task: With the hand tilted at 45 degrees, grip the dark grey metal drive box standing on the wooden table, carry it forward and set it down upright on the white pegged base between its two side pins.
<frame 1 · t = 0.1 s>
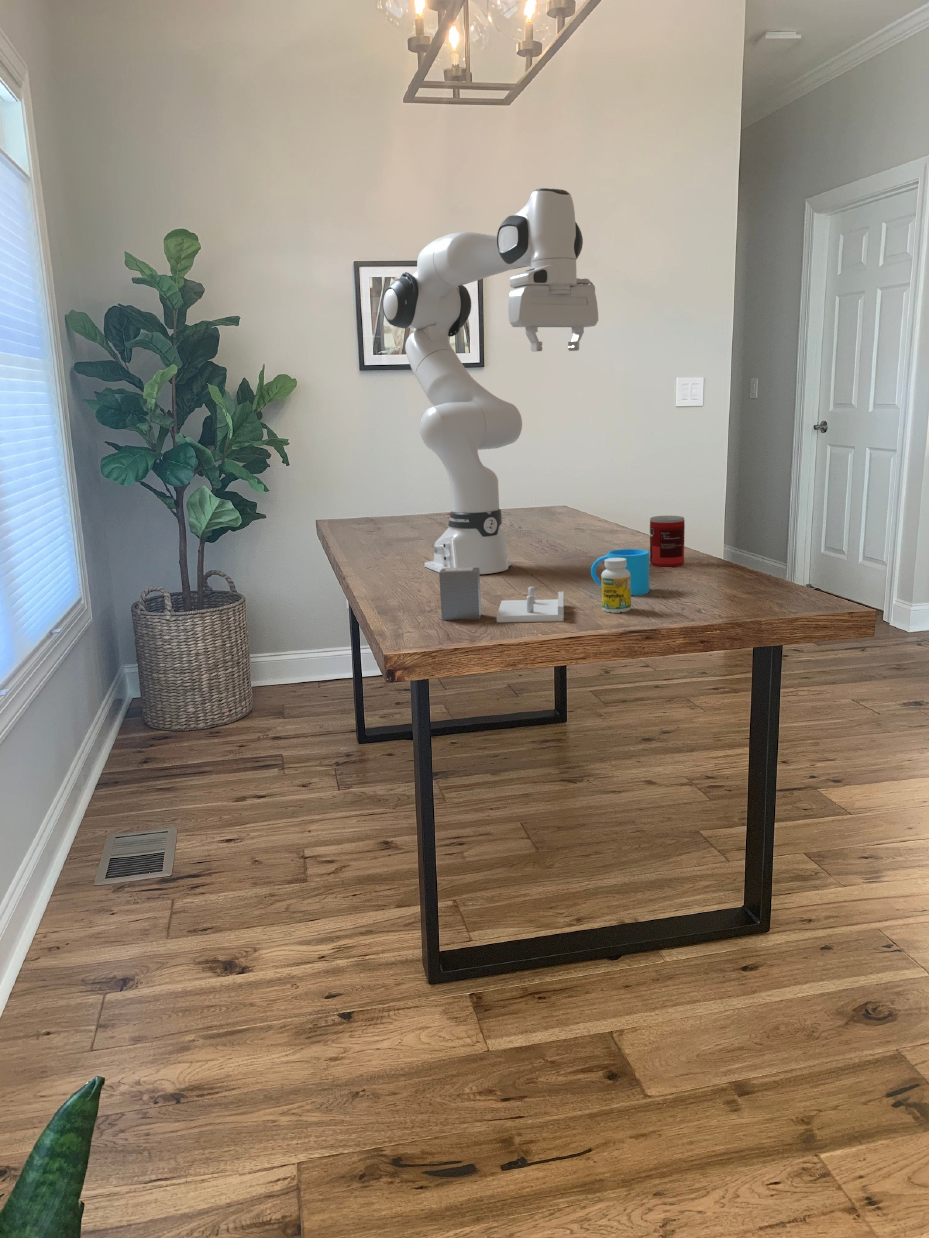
hand: (555, 351, 183), 48 cm above the table, tool pointing down, fingers open, 8 cm apart
canned food: (666, 565, 215), on the table
supplement bottle: (616, 611, 172), on the table
white pegged base: (531, 613, 172), on the table
mug: (619, 592, 188), on the table
drive: (461, 617, 172), on the table
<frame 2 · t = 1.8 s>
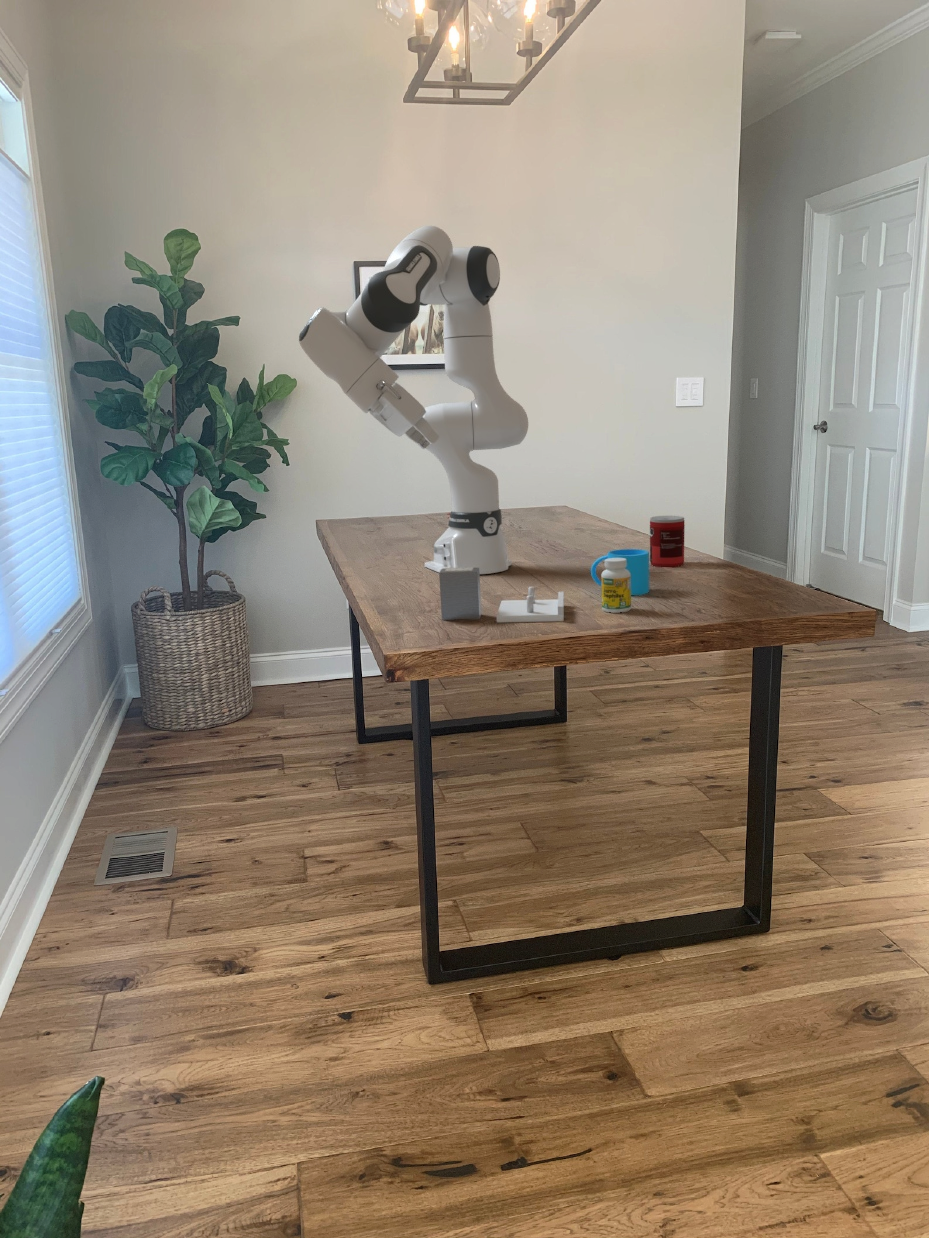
hand: (431, 443, 166), 32 cm above the table, tool tilted 45°, fingers open, 8 cm apart
nothing on the table moved.
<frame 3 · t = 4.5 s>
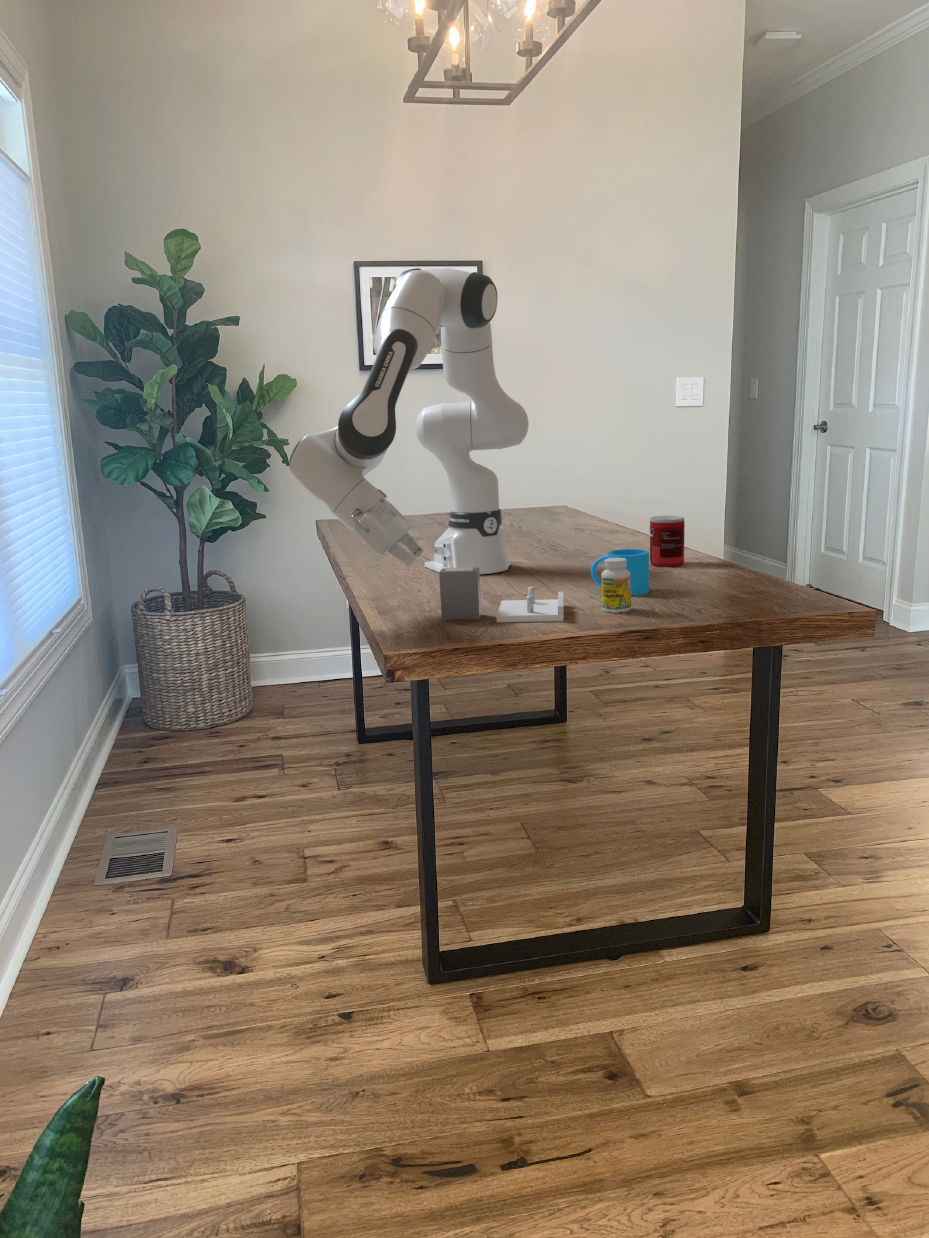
hand: (417, 558, 171), 11 cm above the table, tool tilted 45°, fingers open, 8 cm apart
nothing on the table moved.
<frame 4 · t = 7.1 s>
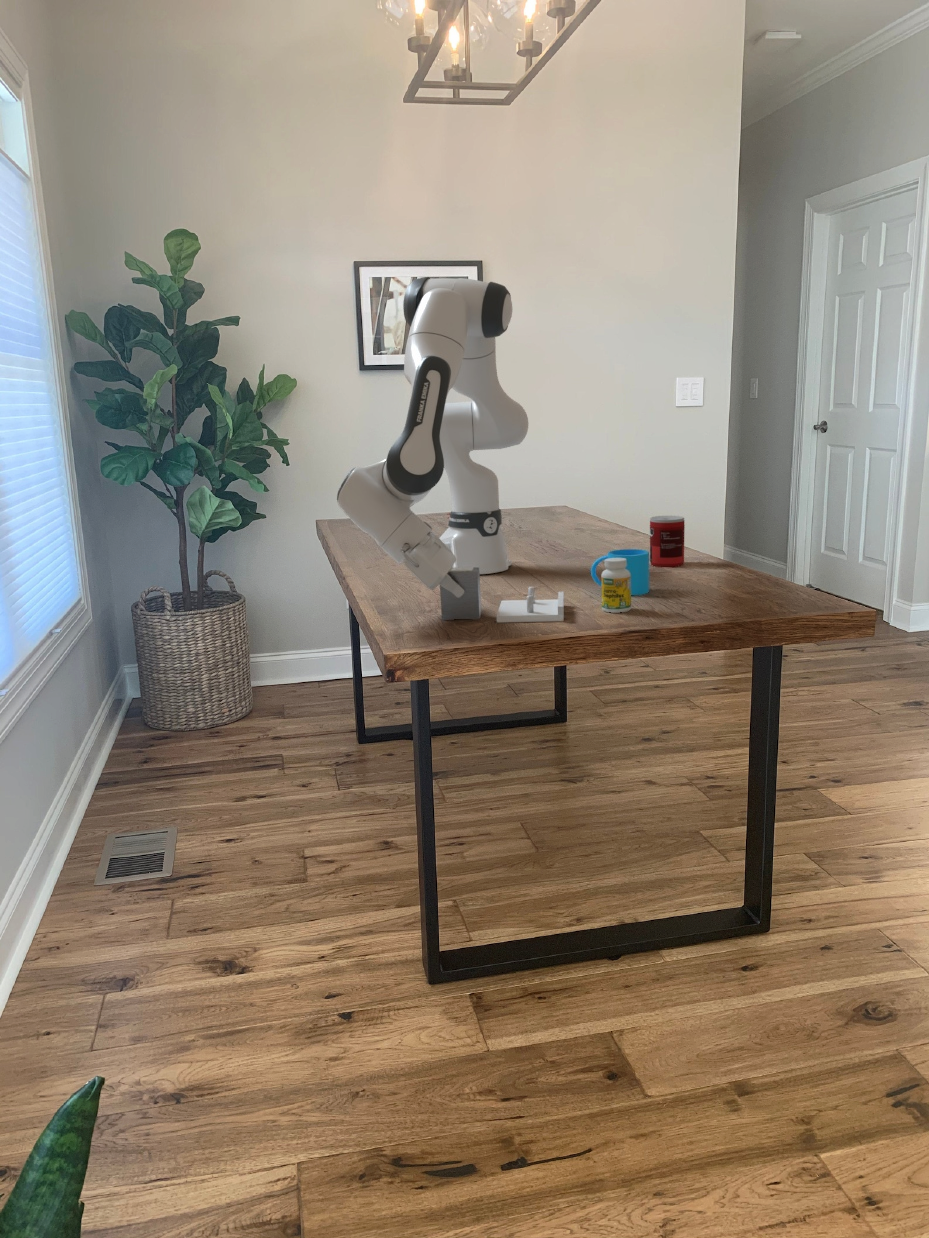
hand: (463, 591, 171), 5 cm above the table, tool tilted 45°, fingers closed on drive, 4 cm apart
drive: (461, 617, 172), on the table, touching gripper
everything else where it was.
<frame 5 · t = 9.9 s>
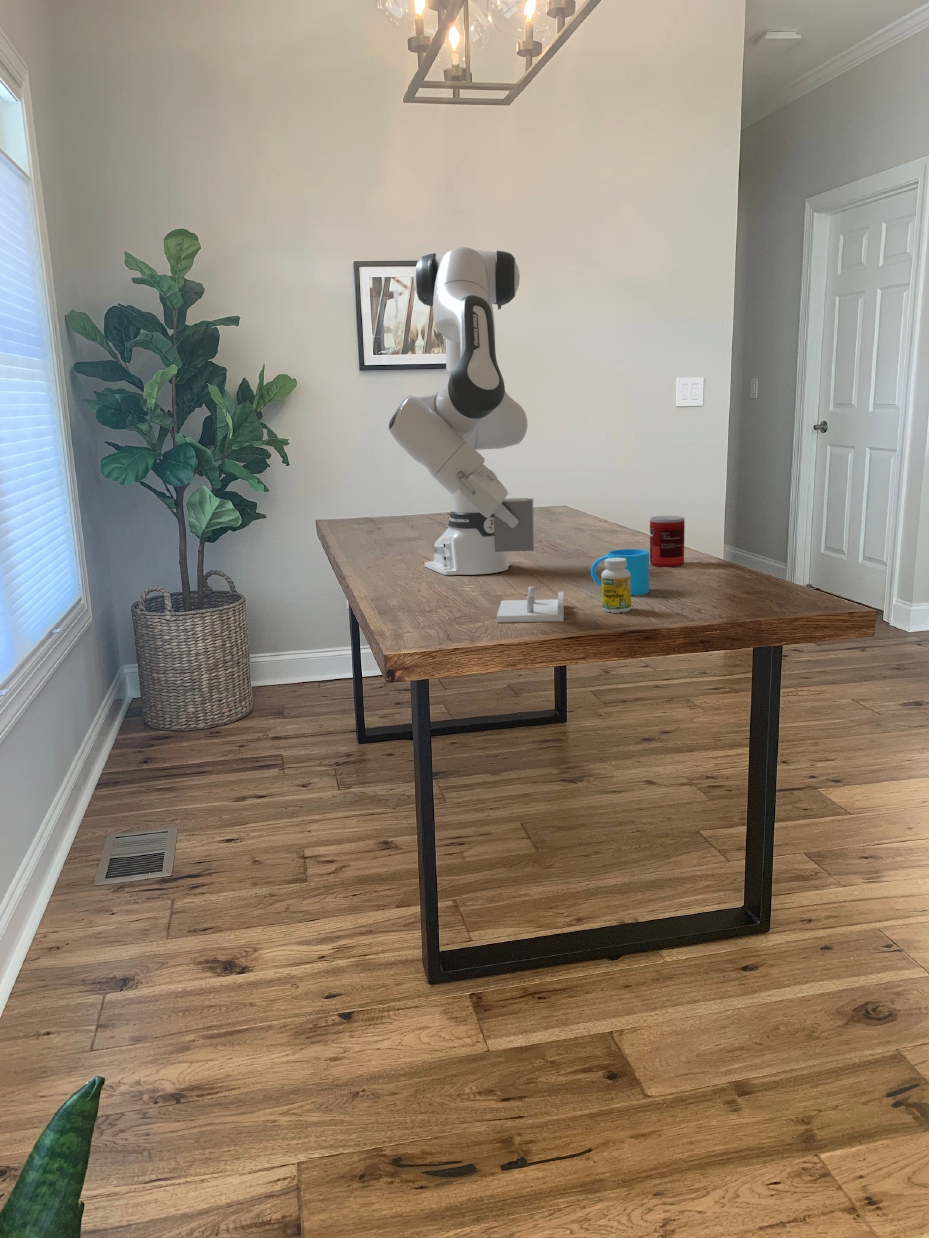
hand: (517, 522, 168), 17 cm above the table, tool tilted 45°, fingers closed on drive, 4 cm apart
drive: (514, 549, 170), point 12 cm above the table, touching gripper
everything else where it was.
when the fingers open (7 cm above the table, at t = 13.0 s): drive stays where it is, resting on white pegged base.
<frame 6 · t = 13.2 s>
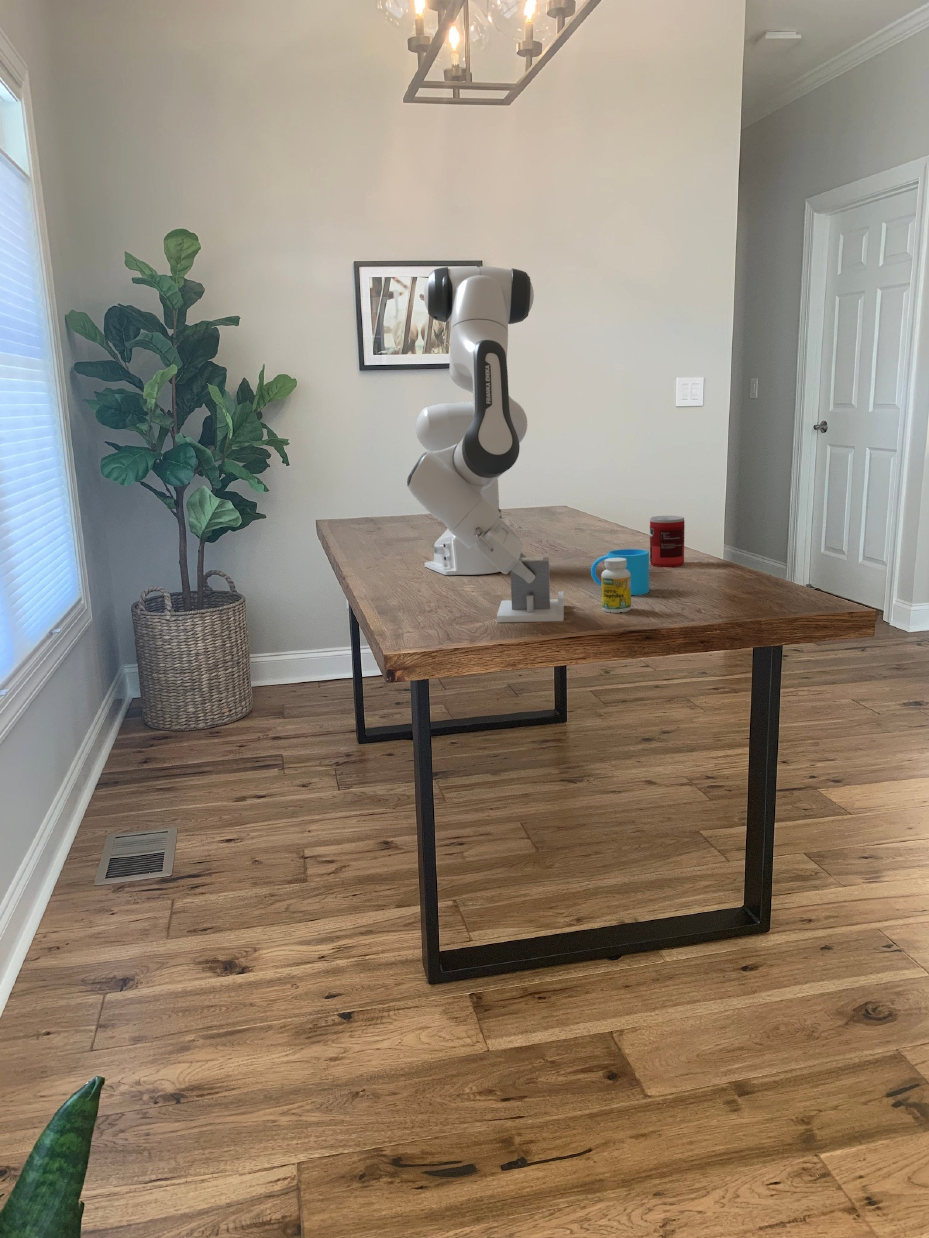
hand: (533, 576, 171), 7 cm above the table, tool tilted 45°, fingers open, 6 cm apart
drive: (531, 607, 172), point 1 cm above the table, touching white pegged base
everything else where it was.
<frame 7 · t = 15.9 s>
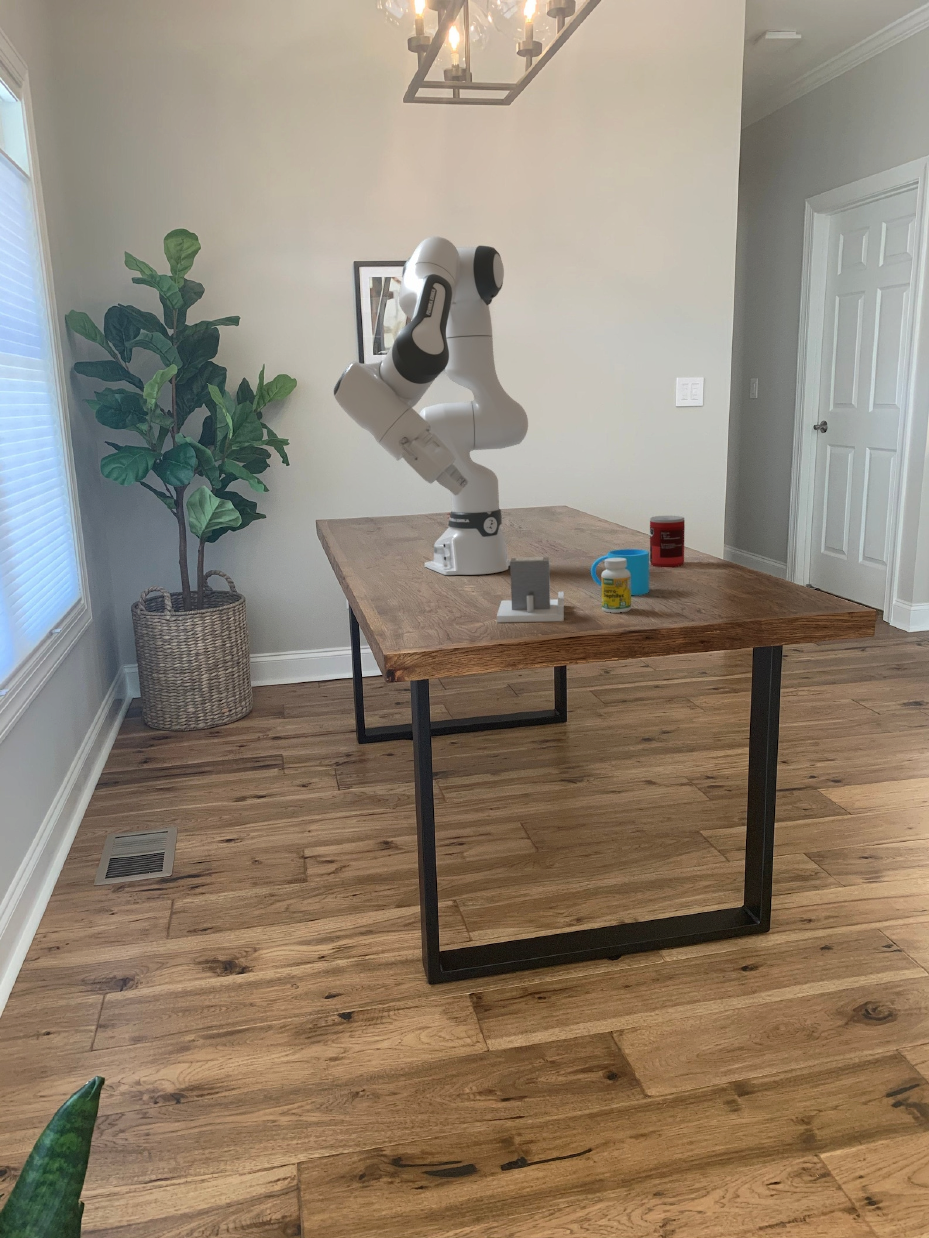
hand: (463, 488, 169), 24 cm above the table, tool tilted 45°, fingers open, 8 cm apart
nothing on the table moved.
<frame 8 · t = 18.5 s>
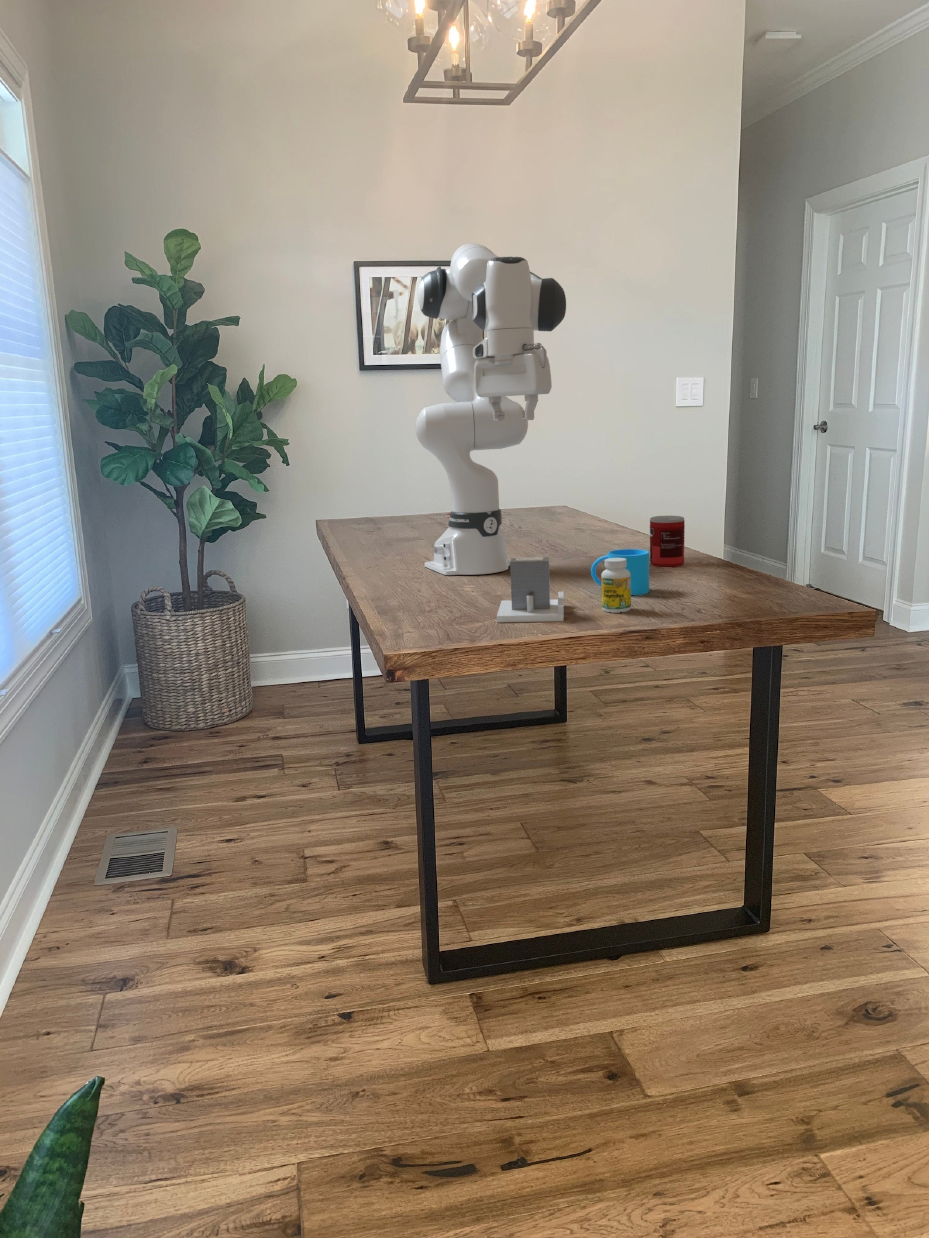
hand: (513, 420, 179), 35 cm above the table, tool pointing down, fingers open, 8 cm apart
nothing on the table moved.
at the end: drive 0.1 cm from the white pegged base (horizontally); drive tilted 0°; the gripper is holding nothing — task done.
